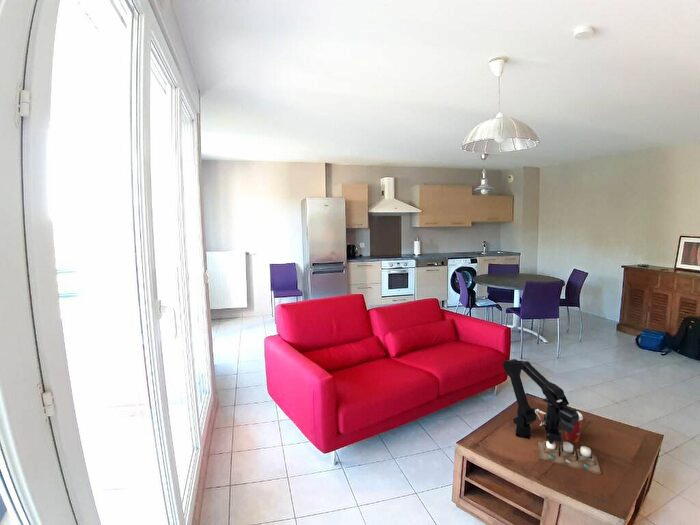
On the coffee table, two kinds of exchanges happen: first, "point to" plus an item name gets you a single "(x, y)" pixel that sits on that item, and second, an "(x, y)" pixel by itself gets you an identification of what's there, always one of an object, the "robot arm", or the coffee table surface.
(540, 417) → the bull figurine
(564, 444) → the button mid
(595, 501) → the coffee table surface
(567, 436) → the paper cup
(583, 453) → the button right
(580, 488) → the coffee table surface
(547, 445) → the button left
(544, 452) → the board
